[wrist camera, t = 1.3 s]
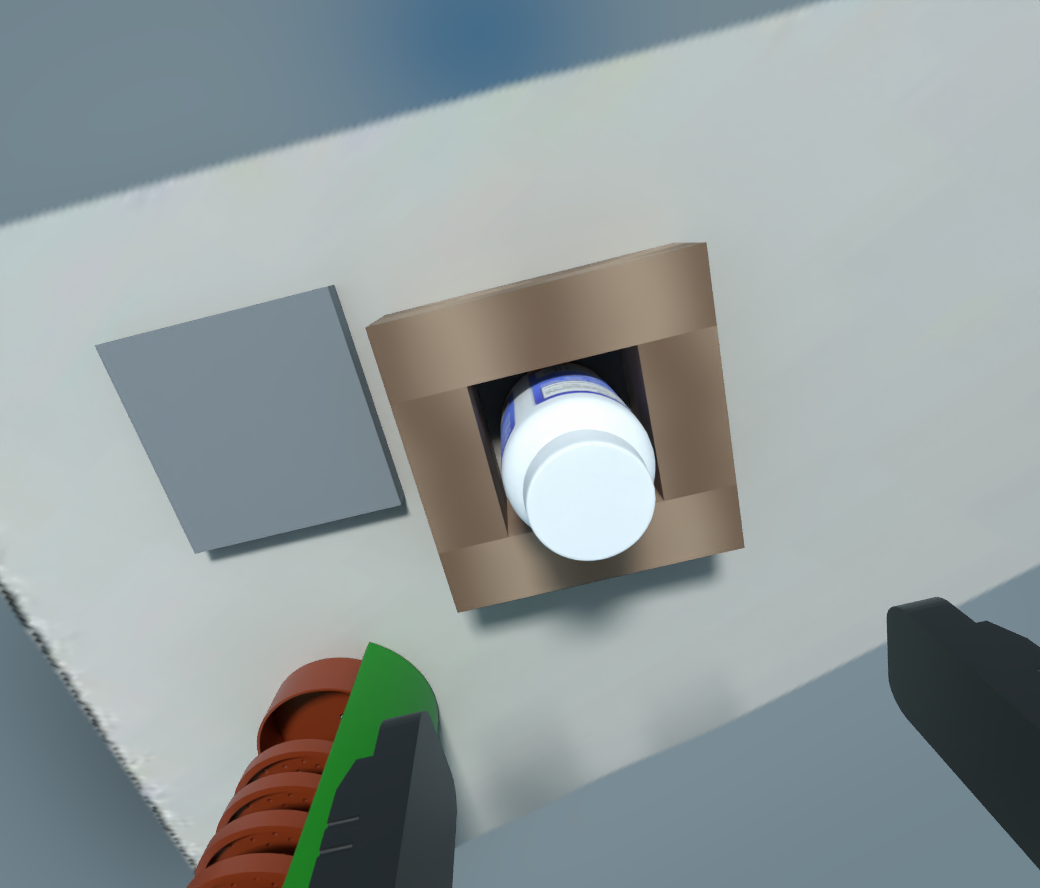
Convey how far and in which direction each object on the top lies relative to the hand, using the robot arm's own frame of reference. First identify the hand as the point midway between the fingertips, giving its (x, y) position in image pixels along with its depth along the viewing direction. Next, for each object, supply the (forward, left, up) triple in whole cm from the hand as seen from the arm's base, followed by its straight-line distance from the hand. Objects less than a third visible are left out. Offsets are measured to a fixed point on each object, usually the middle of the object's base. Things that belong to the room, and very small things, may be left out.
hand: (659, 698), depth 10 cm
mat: (+13, -3, -18) cm, 22 cm away
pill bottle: (0, 0, -18) cm, 18 cm away
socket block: (0, 0, -18) cm, 18 cm away
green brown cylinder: (+14, +14, -18) cm, 27 cm away
